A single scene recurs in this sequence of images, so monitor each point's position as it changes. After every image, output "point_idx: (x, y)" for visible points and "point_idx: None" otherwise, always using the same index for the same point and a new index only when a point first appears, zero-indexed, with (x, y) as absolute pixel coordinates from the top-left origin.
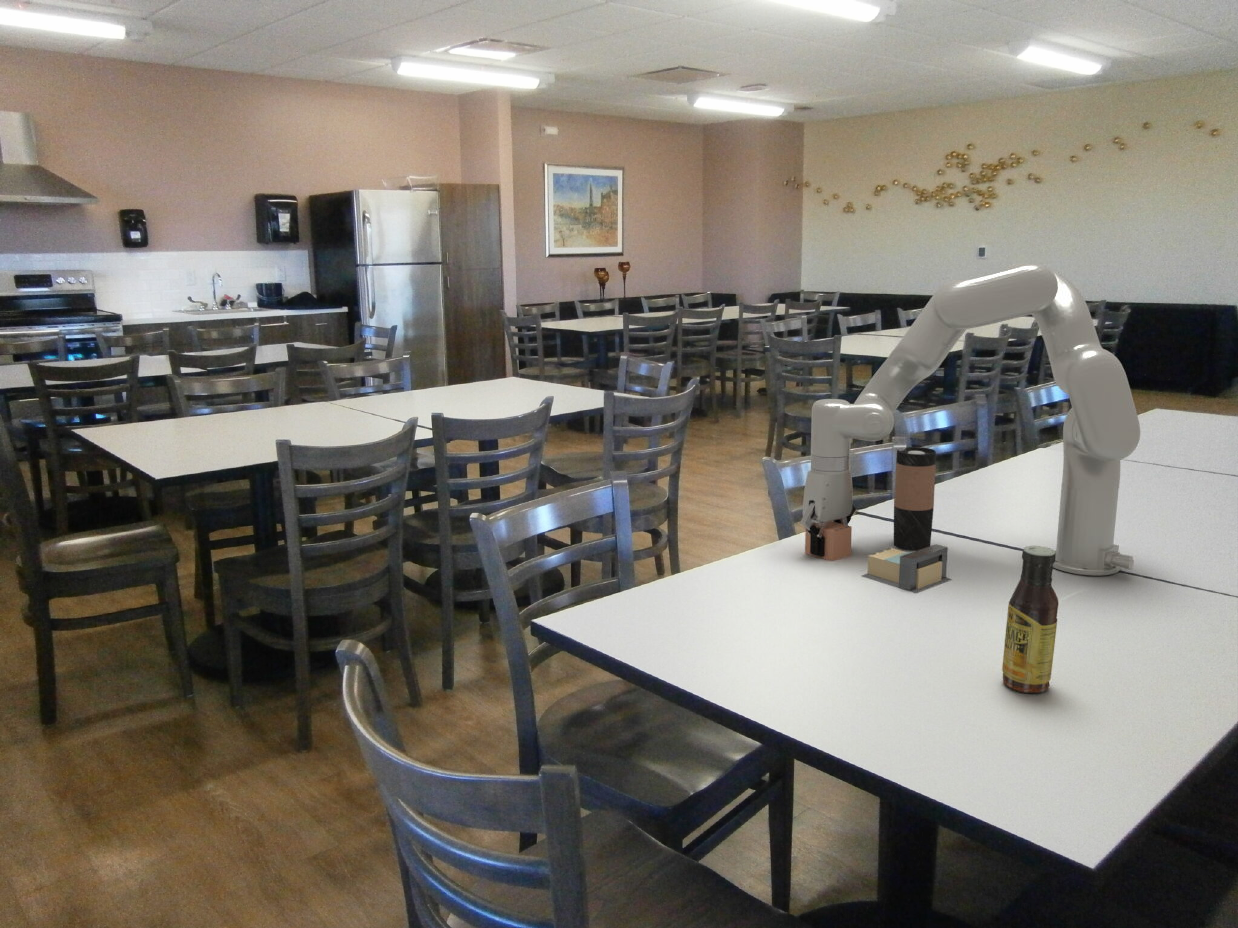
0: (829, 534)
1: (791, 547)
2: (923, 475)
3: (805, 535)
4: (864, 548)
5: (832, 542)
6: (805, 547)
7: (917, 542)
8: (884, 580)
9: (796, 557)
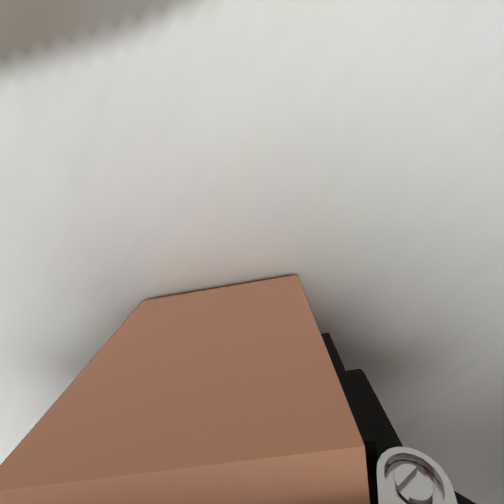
0: None
1: (140, 154)
2: None
3: (78, 377)
4: (476, 372)
5: None
6: (129, 320)
7: None
8: None
9: (76, 316)
